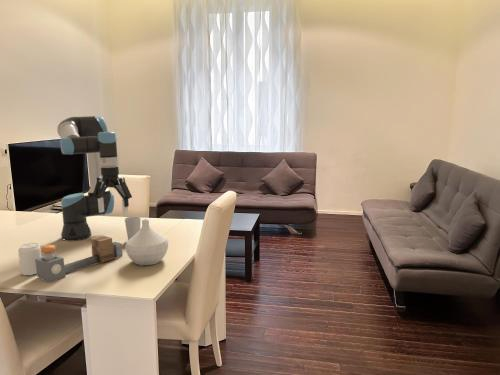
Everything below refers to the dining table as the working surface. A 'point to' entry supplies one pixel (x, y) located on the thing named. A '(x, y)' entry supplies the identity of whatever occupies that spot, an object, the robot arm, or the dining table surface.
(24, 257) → the beverage can
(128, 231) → the cup
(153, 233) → the vase
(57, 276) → the housing
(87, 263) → the rail
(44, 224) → the dining table surface
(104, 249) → the carriage
